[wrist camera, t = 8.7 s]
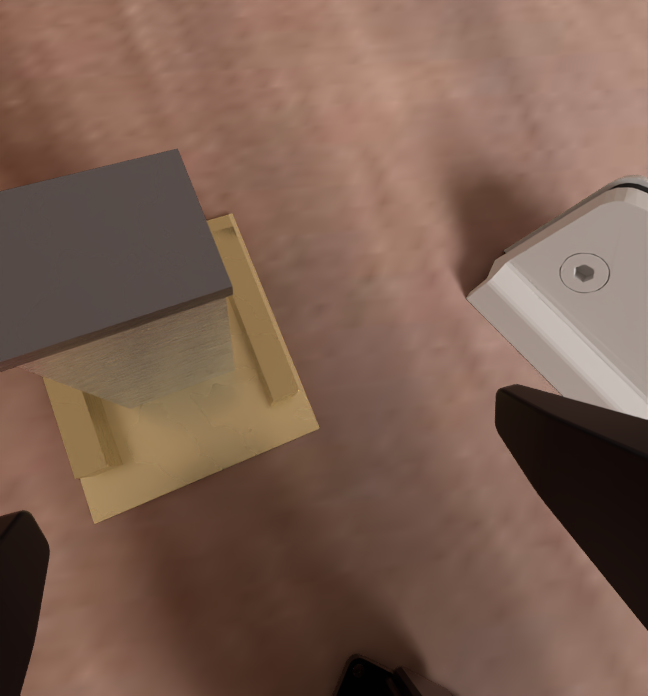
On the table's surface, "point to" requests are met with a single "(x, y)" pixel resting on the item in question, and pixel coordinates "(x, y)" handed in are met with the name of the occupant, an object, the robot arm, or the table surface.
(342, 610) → the table surface
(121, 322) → the bar
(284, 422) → the strike pocket
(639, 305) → the white rounded housing
